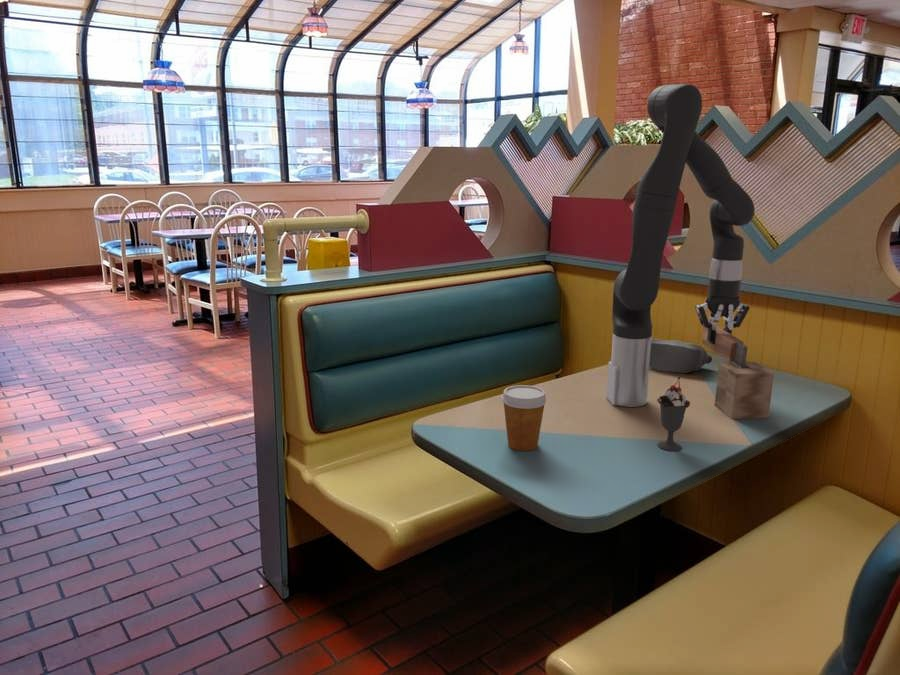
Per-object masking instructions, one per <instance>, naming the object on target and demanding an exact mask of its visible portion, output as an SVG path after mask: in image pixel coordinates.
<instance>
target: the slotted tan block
mask: <svg viewBox="0 0 900 675" xmlns="http://www.w3.org/2000/svg"><path fill="white" fill-rule="evenodd" d="M717 369H718V370H717V378H716V381H717V382H716V388H715V396H714V397H715V399H714V407H716V408H717V409H718V410H720V411H721V412H723V414H725V415H726V416H727V417H729V418H730V419H731V420H732V419H733V420H735V419H736V420H737V419H764V418H765V419H766V418H767V419H768V418H769V415H770V408H771V399H772V393H773V392H772V391H773V384H774V375H775V374H774V372H773V371H771V370H770V369H768V368H766V367H764V365H763V366H762V365H761V364H759V363H758V362H756V361H746V363H745V367H740V366H738V365H737V364H736V363H734V362H729V361H727V362H719V363H718V368H717Z"/></svg>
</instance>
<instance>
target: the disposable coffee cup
mask: <svg viewBox="0 0 900 675" xmlns="http://www.w3.org/2000/svg"><path fill="white" fill-rule="evenodd" d="M501 399H502V400H501V401H502V402H503V410H504V418H505V427H506V428H505V429H506V435H507V436H506V438H507V445H508V448H511V449H512V450H516V451H520V452H521V451H522V452H523V451H525V452H526V451H532V450H535V449H536V448H538V447H539V446H538V445H539V439H540V433H541V427H542V421H543V417H544V416H543V414H544V409H545V404H546V403H547V401H548V397H547V395H546V392H545V390H544V389H543V388H540V387H539V386H534V385H533V386H532V385H526V384H525V385H522V384H520V385H512V386H511V385H510V386H508V387H506V388H505V389H504V390H503V393H502V394H501Z"/></svg>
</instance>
